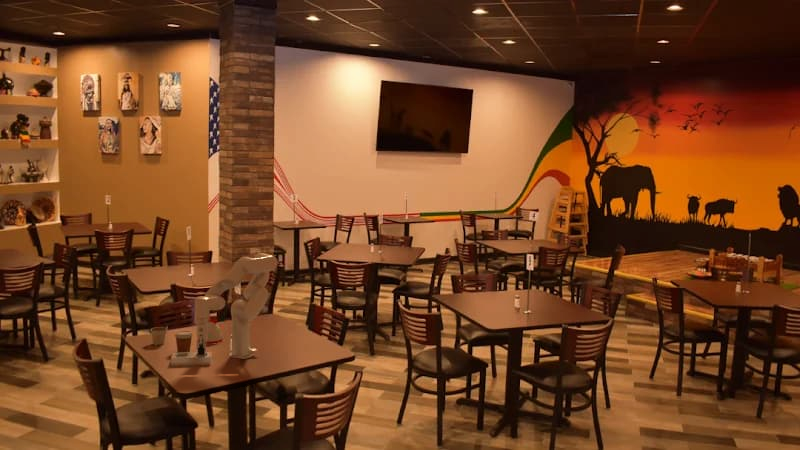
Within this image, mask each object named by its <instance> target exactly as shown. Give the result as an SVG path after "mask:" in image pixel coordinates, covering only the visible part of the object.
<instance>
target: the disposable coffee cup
mask: <svg viewBox="0 0 800 450" xmlns="http://www.w3.org/2000/svg"><path fill="white" fill-rule="evenodd" d="M174 337H175V340H176V341H175V343H176V349H177V352H191V345H192V338H193V332H192V331H191V330H179V331H176V332H175V334H174Z"/></svg>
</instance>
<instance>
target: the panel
mask: <svg viewBox="0 0 800 450" xmlns="http://www.w3.org/2000/svg"><path fill="white" fill-rule="evenodd" d="M212 360H213V351H206V356H198V351H190V352H178V351H177V352H173V353H172V355H171V358H170V366H172V367H173V366H176V367H179V366H180V367H182V366H203V365H206V366H211V364H212Z"/></svg>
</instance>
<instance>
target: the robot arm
mask: <svg viewBox="0 0 800 450" xmlns="http://www.w3.org/2000/svg"><path fill="white" fill-rule="evenodd" d="M277 267H278V259H277V258H276V257H275V256H274V255H270V254H267V253H261V252H259V253H257V254H255V255H254V257H249V256H242V257H240V258H239V259H237V261H236V262H235V263H234V265H233V266H232V268H231V269H230V270H229V272H227V274H226V275H225V276H224V277H222V278H220V279H219V280H217V282H215V283H214V284H212V286H211V287H210V288H209V289H208V290H207V291H206V293H205V295H204V296H201V295H200V296H197V297H196V298H195V299H194V324H195V325H196V341H197V343H199V346H198V350H197V352H198V355H204V343H205V342H207V339H208V325H207V324H208V323H209V316H210V311H219V310H222V309H224V308H225V306H226V300H225V298H224V297H222V296H221V295H222V294H223V293H224V292H226V291H227V290H230V289H234V288H236V287H238V286H239V285H240V284H241V282H242V281H243V280H244V278H246V276H247V275H249V274H250V275H253V276H252V277H251V280H250V281H249V282H248V284H247V285H246V287H245V288H244V290H243V297H244V298H245V300H243V299H237V300H234V302H233V303H231V306H230V314H231V315H230V316H231V320H232V321H231V322H232V323H231V324H232V325H231V352H230V353H228V356H229V357H231V358H235V359H236V358H237V359H240V360H247V359H250V358H251V357H252V356H253V354H258V349H256V348H251V346H250V338H251V337H250V330H251V329H250V328H251V327H250V326H251V324H250V321H253V320H255V319H256V317H258V316H259V314H260V312H261V310H262V309H263V308H264V306H265V305H266V303H267V301H268V298H269V291H268V289H267V288H266V285H267V283H268V282H269V280H270V279H269V278H270V272H272V271H274V270H276V268H277ZM202 343H203V344H202Z"/></svg>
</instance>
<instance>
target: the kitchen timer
mask: <svg viewBox="0 0 800 450" xmlns="http://www.w3.org/2000/svg"><path fill="white" fill-rule="evenodd" d="M213 317H214V318H213ZM218 321H219V318H218V319H217V317H216V316H210V315H209V323H208V324H207V325H208V339H207V342H205V343H206V345H215V344H214V343H216V344H219V343H218V342H220V343H222V342H223V341H222V340H223V339H224V338H223V333H222V330H221V327H220V326H219V325H218V324H217V322H218ZM221 341H222V342H221Z"/></svg>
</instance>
